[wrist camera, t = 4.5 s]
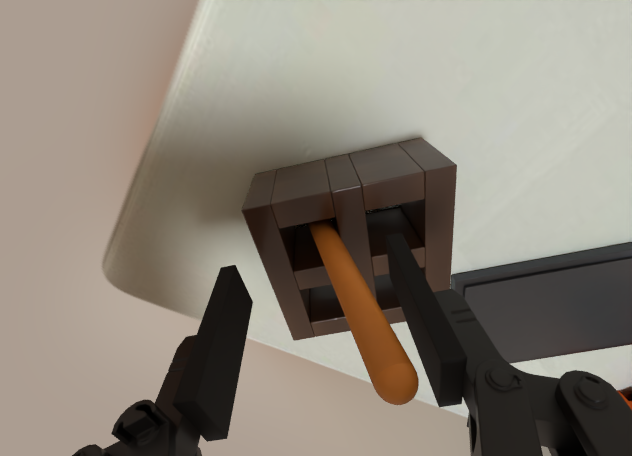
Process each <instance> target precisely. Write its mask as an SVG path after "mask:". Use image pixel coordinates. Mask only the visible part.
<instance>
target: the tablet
mask: <svg viewBox="0 0 632 456" xmlns="http://www.w3.org/2000/svg"><path fill="white" fill-rule="evenodd" d="M451 289H453V290H454V291H456V292H457V293H458V294H460V295H461V296H462V297H464V299H465V300H466V302H467V303H468V305H469V307H470V308H471V311H473V313H474V314H475V316H476V318H477V320H478V321H479V322H480V324H481V325H482V327H483V328H484V330H485V332H486V333H487V335H488V336H489V338H490V339H491V341H492V343H493V344H494V346H495V347H496V349H497V350H498V352H499V353H500V355H501V356H502V357H503V359H504V360H505V361H507V362H508V363H516V362H522V361H529V360H535V359H541V358H548V357H554V356H560V355H567V354H573V353H580V352H586V351H592V350H599V349H605V348H612V347H618V346H624V345H631V344H632V242H631V243H626V244H620V245H615V246H609V247H604V248H598V249H593V250H587V251H582V252H576V253H570V254H565V255H559V256H554V257H548V258H543V259H537V260H532V261H526V262H521V263H515V264H510V265H504V266H499V267H493V268H488V269H482V270H477V271H471V272H466V273H460V274H455V275H452V279H451Z"/></svg>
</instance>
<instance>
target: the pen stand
mask: <svg viewBox="0 0 632 456" xmlns="http://www.w3.org/2000/svg"><path fill="white" fill-rule="evenodd" d="M456 172H457V165H456V164H455V163H454V162H452V161H451V160H450V159H449V158H447V157H446V156H445V155H443V154H442V153H441V152H440V151H438V150H437V149H436V148H434V147H433V146H432V145H431V144H429V143H428V142H427V141H425V140H424V139H423V138H418V139H413V140H409V141H404V142H400V143H398V144H397V143H396V144H391V145H386V146H382V147H377V148H373V149H368V150H364V151H359V152H354V153H350V154H349V155H348V154H345V155H341V156H336V157H332V158H327V159H325V160H324V159H322V160H318V161H313V162H309V163H304V164H299V165H295V166H290V167H286V168H281V169H278V170H272V171H267V172H263V173H258V174H255V175H254V177H253V180H252V182H251V185H250V188H249V191H248V193H247V196H246V199H245V202H244V205H243V207H242V213H243V216H244V218H245V220H246V223H247V225H248V228H249V230H250V233H251V235H252V238H253V240H254V243H255V245H256V248H257V250H258V253H259V255H260V258H261V260H262V263H263V265H264V268H265V270H266V273H267V275H268V278H269V280H270V283H271V285H272V288H273V290H274V293H275V295H276V298H277V300H278V303H279V305H280V307H281V310H282V312H283V315H284V317H285V320H286V322H287V325H288V327H289V330H290V332H291V335H292V337H293V340H300V339H306V338H312V337H315V336H316V337H317V336H322V335H328V334H334V333H340V332H346V331H351V329H350V327H349V324H348V322H347V319H346V317H345V315H344V312H343V310H342V307H341V305H340V302H339V300H338V297H337V295H336V292H335V290H334V287H333V285H332V283H331V280H330V278H329V275H328V273H327V270H326V268H325V265H324V263H323V260H322V258H321V255H320V253H319V250H318V248H317V246H316V243H315V241H314V238H313V236H312V233H311V231H310V228H309V226H305V227H300V228H296V229H295V228H294V225H299V224H304V223H309V222H314V221H319V220H324V219H329V218H334V217H335V216H336V220H337V221H336V220H335V221H331V222H332V224H333V226H334V228H335V229H336V231H337V233H338V235H339V236H340V238H341V240H342V242H343V243H344V245H345V247H346V249H347V250H348V252H349V254H350V256H351V257H352V259H353V261H354V263H355V264H356V266H357V268H358V270H359V271H360V273H361V275H362V277H363V278H364V280H365V282H366V284H367V286H368V287H369V289H370V291H371V293H372V294H373V296H374V298H375V300H376V301H377V303H378V305H379V307H380V308H381V310H382V312H383V314H384V315H385V317H386V319H387V321H388V322H389V324H393V323H399V322H405V321H406V319H405V316H404V313H403V311H402V308H401V305H400V303H399V300H398V298H397V295H396V292H395V290H394V287H393V284H392V282H391V279H390V275H389V265H388V254H387V244H386V235H391V234H396V233H402V235H403V237H404V238H405V240H406V242H407V244H408V246H409V248H410V250H411V252H412V253H413V255H414V257H415V259H416V261H417V263H418V265H419V267H420V269H421V270H422V272H423V274H424V276H425V278H426V280H427V282H428V284H429V286H430V287H431V289H432V291H433V292H437V291H443V290H449V289H450V277H451V260H452V242H453V225H454V207H455V189H456ZM398 204H401V208H400V207H399V208H394V209H389V210H385V211H380V212H375V213H370V214H365V211H368V210H373V209H378V208H383V207H388V206H393V205H398Z"/></svg>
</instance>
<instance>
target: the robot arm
mask: <svg viewBox="0 0 632 456" xmlns="http://www.w3.org/2000/svg"><path fill="white" fill-rule="evenodd" d="M386 244H387V254H388V265H389V275H390V279H391V282H392V284H393V287H394V290H395V292H396V295H397V298H398V300H399V303H400V305H401V308H402V311H403V313H404V316H405V319H406V321H407V324H408V327H409V329H410V332H411V334H412V337H413V340H414V342H415V345H416V348H417V350H418V353H419V356H420V358H421V361H422V364H423V366H424V369H425V371H426V374H427V377H428V379H429V382H430V385H431V387H432V390H433V393H434V395H435V398H436V400H437V403H438V406H439V407H444V406H450V405H457V404H462V396H463V398H464V400H465V403H466V405H467V407H468V409H469V415H468V422H467V427H469V434H470V450H471V456H543V455H542V450H541V446H545V447H548V449H549V451H550V453H551V455H552V456H632V410H631V408H630V407H629V406H628V404H627V403H626V402H625V400H624V399H623V397H622V396H621V395H620V394H619V393H618V391H617V390H616V389H615V388H614V387H613V386H612V385H611V384H609V383H608V382H606V381H605V380H603V379H602V378H600V377H598V376H596V375H593V374H591V373H588V372H584V371H577V370H575V371H570V372H566V373H565V374H564V375H563V376H561V378H560V379H559V378H552V377H545V376H539V375H533V374H529V373H525V372H523V371H520V370H518V369H516V368H515V367H513V366H512V365H510V364H509V363H508V362H507V361H505V360H504V359H503V357H502V356H501V355H500V353H499V352H498V350H497V349H496V347H495V346H494V344H493V343H492V341H491V339H490V338H489V336H488V335H487V333H486V332H485V330H484V328H483V327H482V325H481V324H480V322H479V321H478V320H477V318H476V316H475V314H474V313H473V311H471V308H470V307H469V305H468V303H467V302H466V300H465V299H464V297H462V296H461V295H460V294H458V293H457V292H456V291H454V290H453V289H449V290H443V291H437V292H433V291H432V289H431V287H430V286H429V284H428V282H427V280H426V278H425V276H424V274H423V272H422V270H421V269H420V267H419V265H418V263H417V261H416V259H415V257H414V255H413V253H412V252H411V250H410V248H409V246H408V244H407V242H406V240H405V238H404V237H403V235H402V233H396V234H391V235H386ZM252 304H253V301H252V299H251V297H250V295H249V293H248V291H247V289H246V287H245V284H244V282H243V280H242V278H241V276H240V274H239V272H238V270H237V267H236V265H232V266H227V267H222V268H221V269H220V272H219V275H218V277H217V280H216V283H215V286H214V288H213V291H212V294H211V297H210V300H209V302H208V305H207V308H206V311H205V313H204V316H203V319H202V322H201V325H200V327H199V330H198V333H197V335H194V336H188V337H186V338H185V339H184V340H183V342H182V343H181V344H180V345H179V347H178V348H177V350H176V353H175V355H174V358H173V362H172V363H171V365H170V367H169V370H168V371H169V372H168V373H167V375H166V377H165V380H164V382H163V385H162V387H161V389H160V392H159V394H158V397H157V399H156V402H155V404H154V403H153V402H152V401H151V400H142V401H139V402H136V403H135V404H133V405H132V406H131V407H129V408H128V409H126V410H125V412H124V413H123V414H122V415H121V416H120V417H119V419H118V420H117V422H116V423H115V425H114V428H113V431H112V435H114V436H115V437H116V438H118V439H119V440H120V441H119V442H117V443H115V444H113V445H111V446H109V447H107V448H105V449H102V448H100V447H99V446H97V445H96V444H95V445H88V446H86V447H84V448H82V449H80V450H78V451H77V452H76V453H75V454H74V455H72V456H202V454H201V450H200V448H199V447H198V443H199V439H200V435H202V436H203V438H204V439H205V440H206V441H213V440H220V439H227V436H228V431H229V425H230V420H231V415H232V410H233V404H234V399H235V394H236V388H237V383H238V378H239V372H240V367H241V361H242V357H243V351H244V346H245V341H246V335H247V330H248V325H249V320H250V314H251V309H252Z"/></svg>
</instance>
